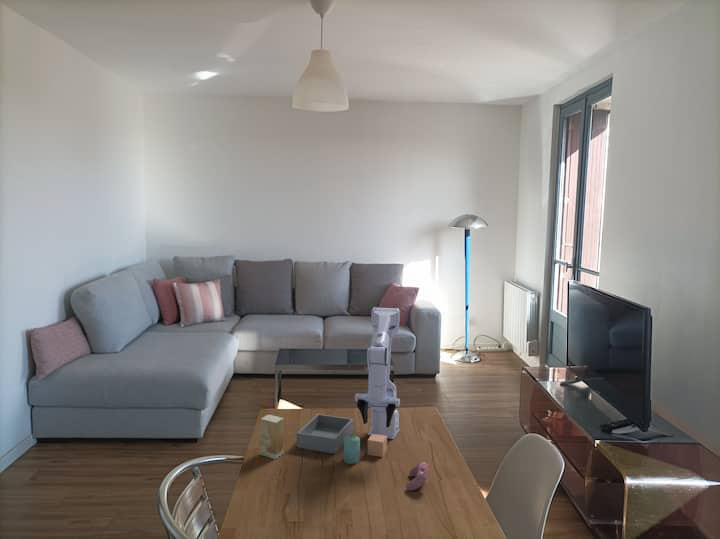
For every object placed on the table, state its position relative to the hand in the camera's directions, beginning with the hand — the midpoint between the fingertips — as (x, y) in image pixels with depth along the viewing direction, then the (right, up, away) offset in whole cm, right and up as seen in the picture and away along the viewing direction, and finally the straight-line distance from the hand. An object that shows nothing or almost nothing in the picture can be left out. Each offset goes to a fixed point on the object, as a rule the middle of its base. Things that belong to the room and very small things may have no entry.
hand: (376, 424), depth 177 cm
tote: (-17, -8, +10) cm, 21 cm away
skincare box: (-33, -10, -1) cm, 35 cm away
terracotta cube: (0, -9, +1) cm, 10 cm away
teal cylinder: (-8, -10, -4) cm, 14 cm away
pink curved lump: (+11, -12, -18) cm, 24 cm away
